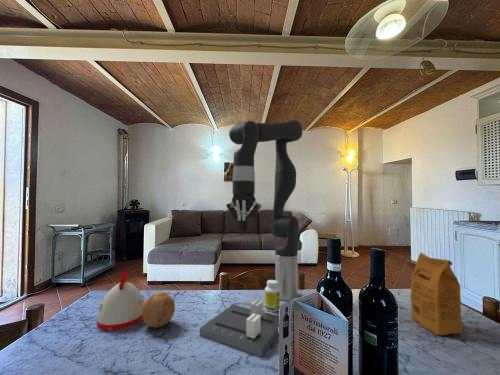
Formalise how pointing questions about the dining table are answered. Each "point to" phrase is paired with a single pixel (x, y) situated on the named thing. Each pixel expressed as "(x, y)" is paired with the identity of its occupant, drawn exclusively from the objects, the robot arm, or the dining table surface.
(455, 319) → the coffee package
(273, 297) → the supplement bottle
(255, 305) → the fader
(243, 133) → the robot arm
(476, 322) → the dining table surface
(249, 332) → the fader
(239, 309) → the console
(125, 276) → the kitchen timer
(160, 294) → the onion
